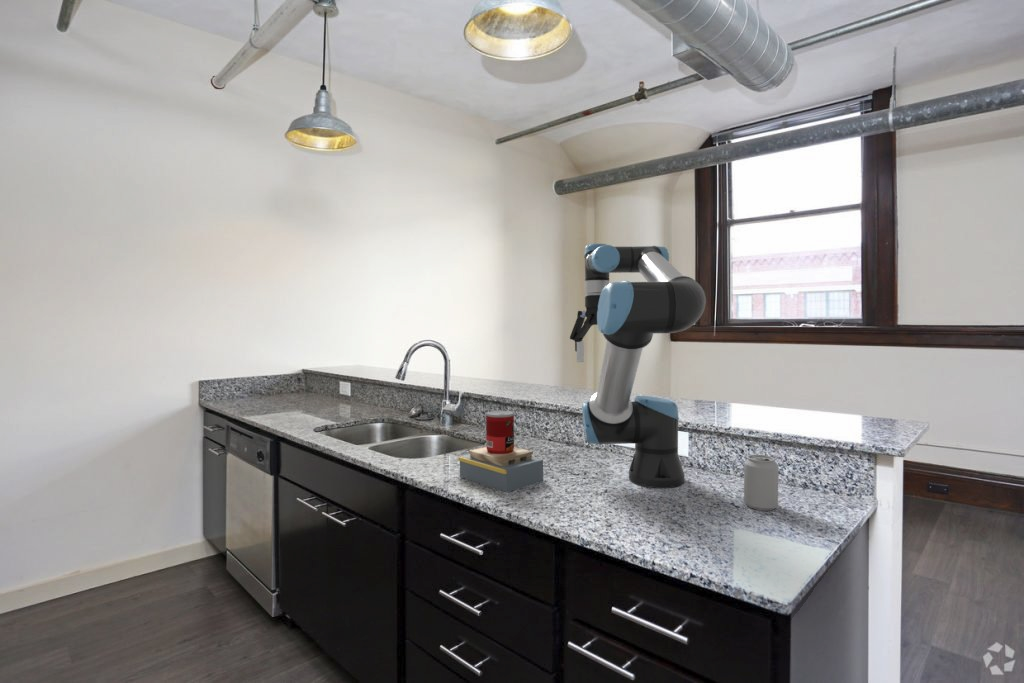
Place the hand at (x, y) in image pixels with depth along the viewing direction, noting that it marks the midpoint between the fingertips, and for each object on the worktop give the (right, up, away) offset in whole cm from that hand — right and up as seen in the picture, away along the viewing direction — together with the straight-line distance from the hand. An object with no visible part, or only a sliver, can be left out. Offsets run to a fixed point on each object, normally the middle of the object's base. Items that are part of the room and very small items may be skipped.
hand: (597, 363), depth 166 cm
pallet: (-30, -27, -14) cm, 42 cm away
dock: (-30, -33, -14) cm, 46 cm away
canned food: (-30, -25, -14) cm, 41 cm away
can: (+33, -33, -38) cm, 60 cm away
